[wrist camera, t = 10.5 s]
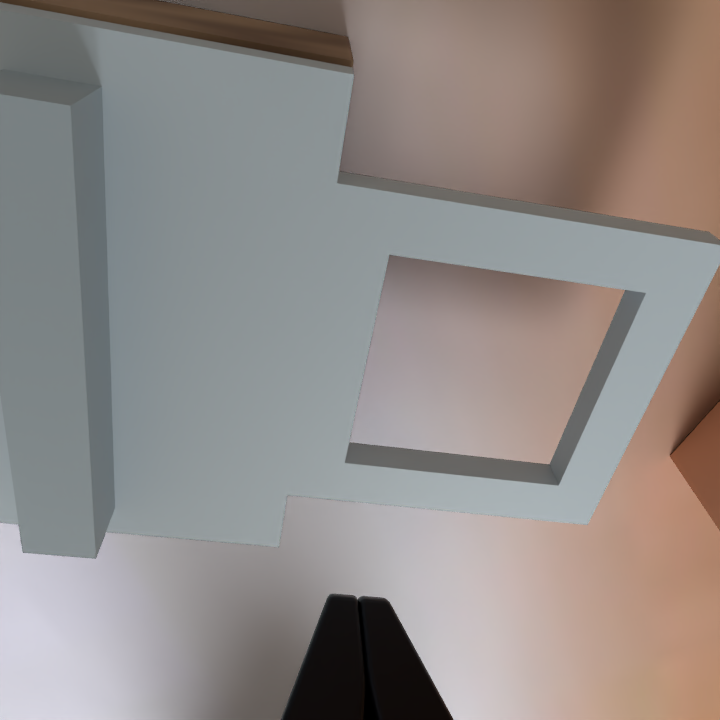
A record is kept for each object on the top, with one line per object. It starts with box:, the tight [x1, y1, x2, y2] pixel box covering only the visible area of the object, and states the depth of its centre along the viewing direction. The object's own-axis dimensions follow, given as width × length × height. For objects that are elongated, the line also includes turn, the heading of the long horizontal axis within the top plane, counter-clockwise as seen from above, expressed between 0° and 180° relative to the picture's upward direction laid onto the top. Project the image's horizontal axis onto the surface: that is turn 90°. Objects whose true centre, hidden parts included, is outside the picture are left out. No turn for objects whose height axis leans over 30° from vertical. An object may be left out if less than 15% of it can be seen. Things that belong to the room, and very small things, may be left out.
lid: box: [0, 2, 720, 559], centre depth 13 cm, size 24×12×2 cm, turn 80°
